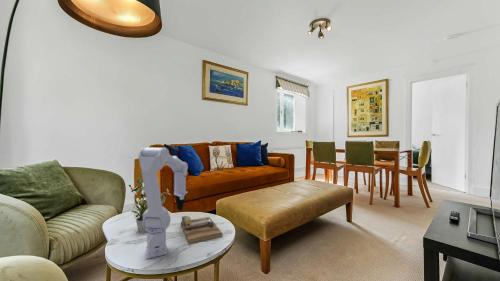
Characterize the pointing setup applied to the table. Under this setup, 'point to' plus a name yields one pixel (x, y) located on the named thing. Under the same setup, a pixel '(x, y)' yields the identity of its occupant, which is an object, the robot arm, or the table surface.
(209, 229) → the walnut board
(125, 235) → the table surface
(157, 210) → the robot arm
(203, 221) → the clamp bar
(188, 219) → the brass catch
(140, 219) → the house plant
